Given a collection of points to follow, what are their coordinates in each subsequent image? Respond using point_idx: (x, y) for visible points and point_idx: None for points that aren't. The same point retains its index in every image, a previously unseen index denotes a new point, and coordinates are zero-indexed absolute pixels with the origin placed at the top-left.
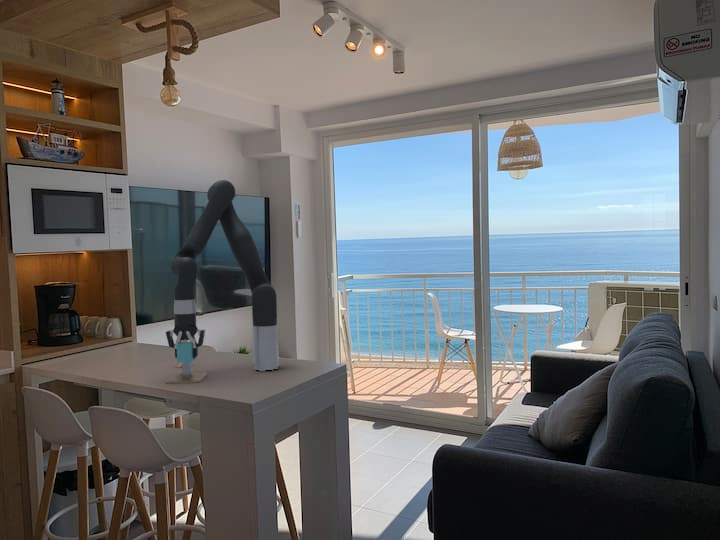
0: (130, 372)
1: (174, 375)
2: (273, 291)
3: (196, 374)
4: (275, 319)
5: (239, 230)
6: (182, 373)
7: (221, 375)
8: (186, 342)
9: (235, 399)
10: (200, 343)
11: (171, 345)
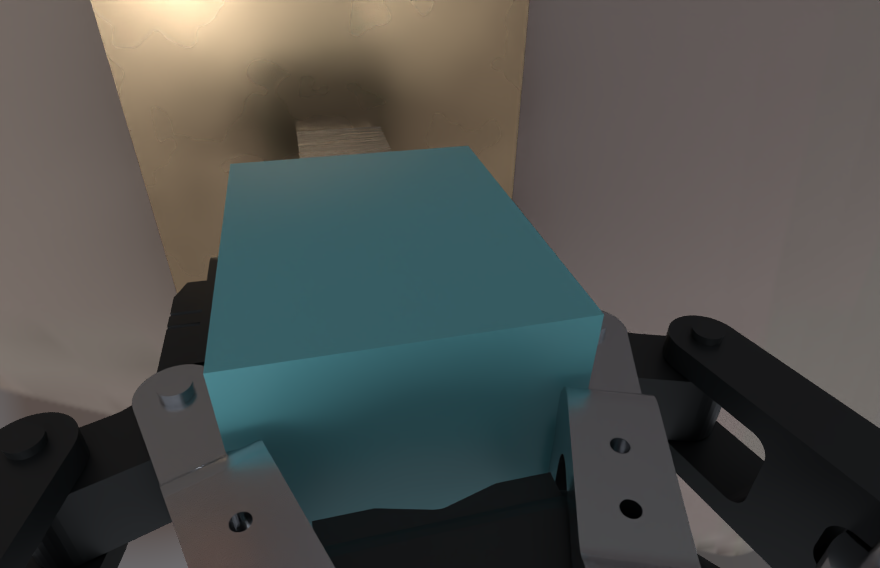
0: None
1: (135, 83)
2: None
3: (413, 56)
4: None
5: None
6: None
7: (667, 19)
8: (414, 437)
9: (700, 534)
10: (705, 449)
11: (103, 550)
